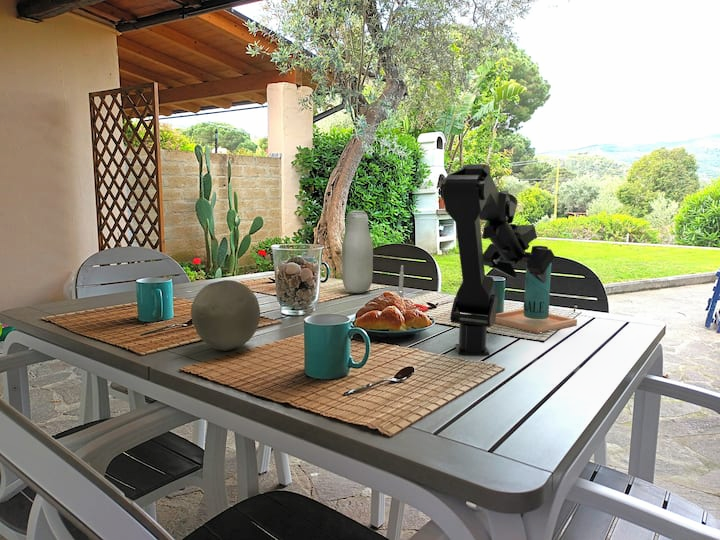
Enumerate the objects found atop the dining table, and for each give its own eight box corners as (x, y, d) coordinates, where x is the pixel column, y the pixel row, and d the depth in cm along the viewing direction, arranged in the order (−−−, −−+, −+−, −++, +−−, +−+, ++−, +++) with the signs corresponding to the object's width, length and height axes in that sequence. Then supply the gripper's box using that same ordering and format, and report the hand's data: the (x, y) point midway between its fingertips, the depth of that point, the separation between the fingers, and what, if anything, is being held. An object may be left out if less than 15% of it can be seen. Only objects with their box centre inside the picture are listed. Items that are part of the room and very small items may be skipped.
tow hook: (431, 309, 154) (401, 305, 158) (434, 266, 152) (404, 263, 156) (422, 315, 147) (391, 311, 150) (425, 270, 144) (394, 267, 148)
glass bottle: (358, 289, 184) (359, 209, 180) (377, 293, 176) (378, 210, 172) (336, 292, 178) (336, 209, 174) (355, 296, 170) (355, 210, 166)
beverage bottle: (542, 319, 139) (547, 244, 136) (553, 325, 133) (557, 247, 130) (518, 319, 139) (522, 244, 136) (528, 325, 132) (532, 247, 130)
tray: (537, 334, 126) (538, 328, 126) (487, 320, 139) (487, 315, 139) (576, 325, 135) (577, 319, 135) (525, 313, 148) (525, 308, 148)
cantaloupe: (190, 344, 115) (188, 277, 113) (255, 339, 120) (254, 274, 118) (194, 364, 102) (191, 288, 100) (266, 357, 107) (265, 284, 105)
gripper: (552, 215, 121) (577, 259, 129) (490, 212, 137) (516, 252, 144) (528, 250, 118) (555, 293, 126) (468, 244, 133) (495, 283, 141)
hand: (529, 279), depth 134 cm, fingers open, 9 cm apart
